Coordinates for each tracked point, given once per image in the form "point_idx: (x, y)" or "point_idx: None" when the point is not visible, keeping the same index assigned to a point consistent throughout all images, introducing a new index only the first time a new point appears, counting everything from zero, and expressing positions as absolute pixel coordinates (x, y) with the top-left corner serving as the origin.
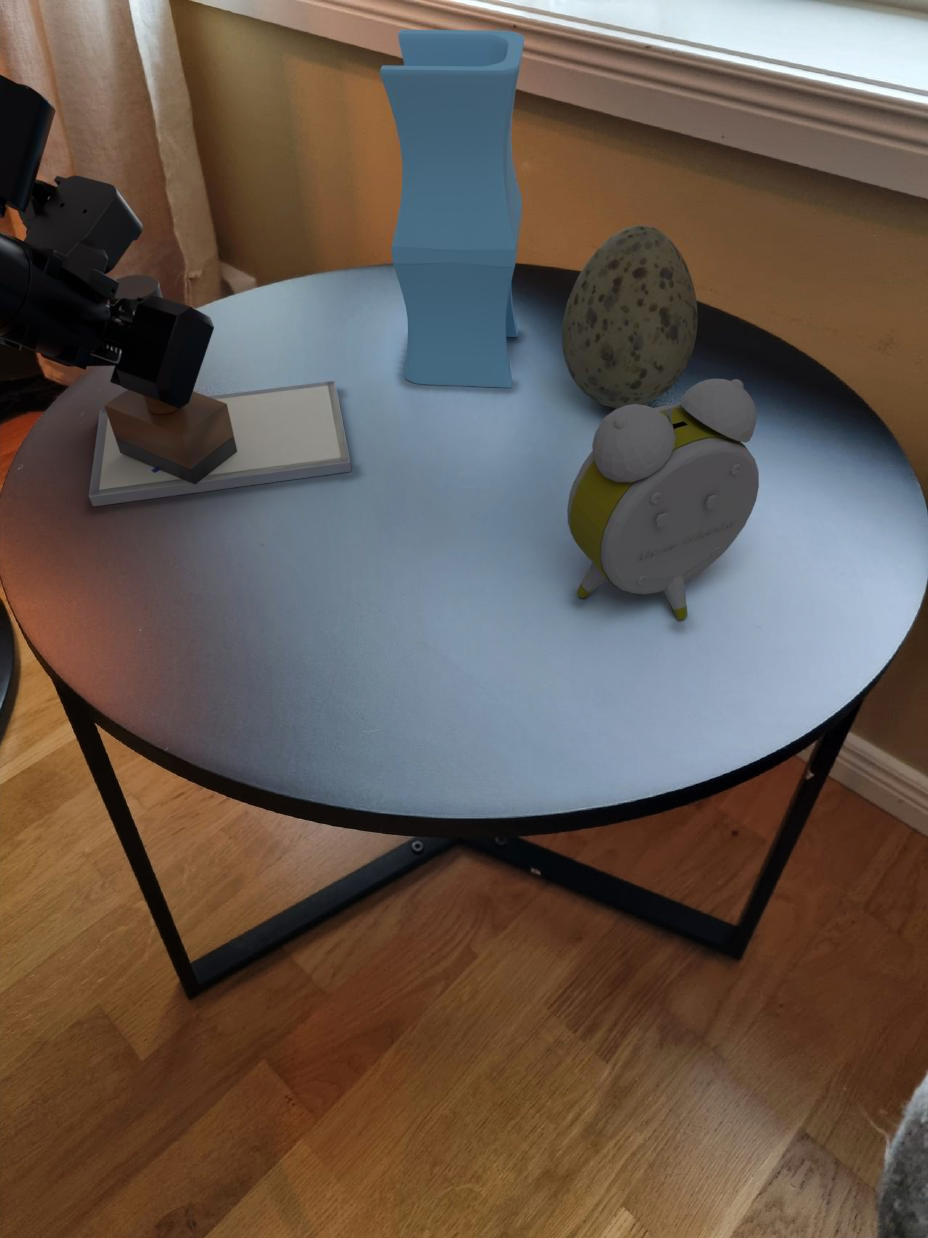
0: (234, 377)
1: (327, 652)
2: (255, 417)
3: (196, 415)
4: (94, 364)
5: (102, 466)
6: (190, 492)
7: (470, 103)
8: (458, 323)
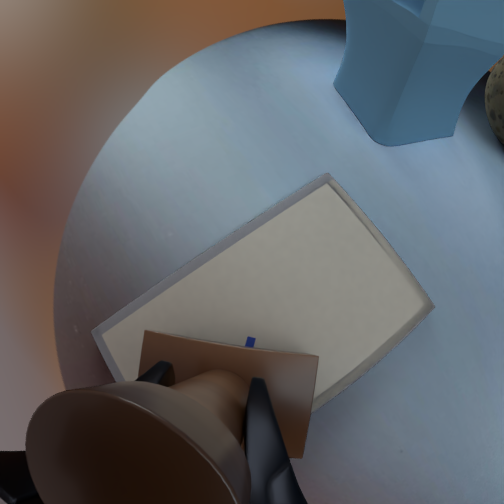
0: (194, 200)
1: (480, 489)
2: (284, 277)
3: (291, 407)
4: None
5: None
6: None
7: None
8: (441, 93)
